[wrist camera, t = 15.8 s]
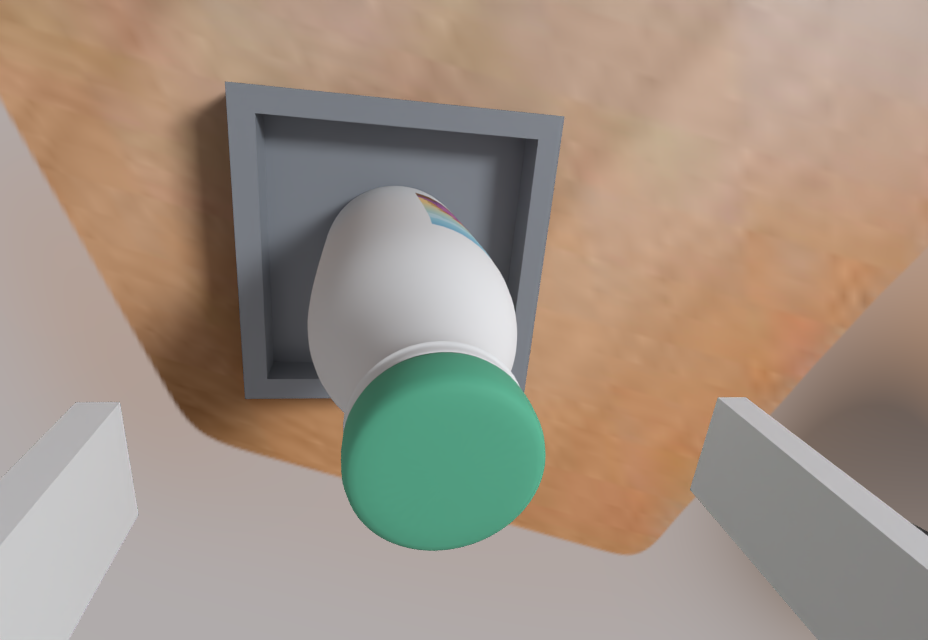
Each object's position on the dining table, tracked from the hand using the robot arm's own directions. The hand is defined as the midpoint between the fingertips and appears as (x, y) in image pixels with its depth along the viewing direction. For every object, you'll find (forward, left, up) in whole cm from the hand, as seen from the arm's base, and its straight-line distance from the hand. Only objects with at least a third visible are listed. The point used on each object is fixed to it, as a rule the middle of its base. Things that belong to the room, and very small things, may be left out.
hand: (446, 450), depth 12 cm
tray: (0, 0, -20) cm, 20 cm away
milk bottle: (0, 0, -20) cm, 20 cm away
